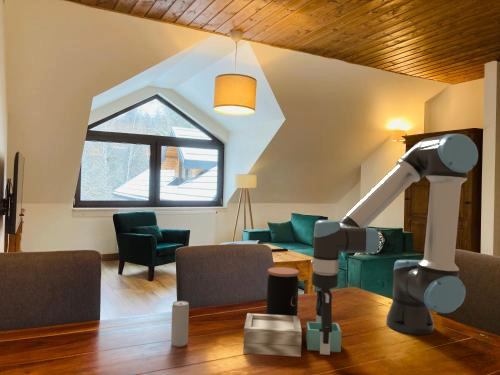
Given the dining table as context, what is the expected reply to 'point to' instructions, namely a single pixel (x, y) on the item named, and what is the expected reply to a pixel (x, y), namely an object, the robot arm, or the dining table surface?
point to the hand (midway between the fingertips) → (322, 345)
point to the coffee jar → (282, 291)
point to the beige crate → (272, 335)
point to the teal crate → (314, 336)
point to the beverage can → (180, 323)
